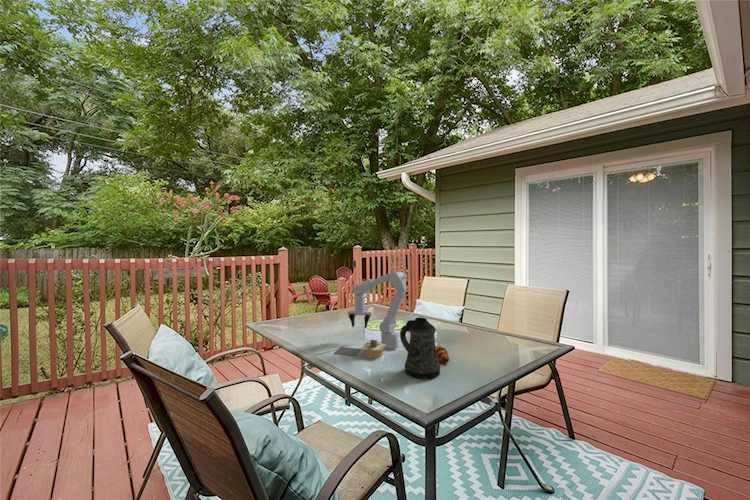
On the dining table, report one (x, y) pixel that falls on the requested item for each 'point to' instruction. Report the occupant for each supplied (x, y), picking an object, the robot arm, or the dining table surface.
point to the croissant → (442, 354)
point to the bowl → (373, 354)
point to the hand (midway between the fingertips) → (359, 327)
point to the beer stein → (420, 349)
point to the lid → (373, 346)
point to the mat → (347, 351)
